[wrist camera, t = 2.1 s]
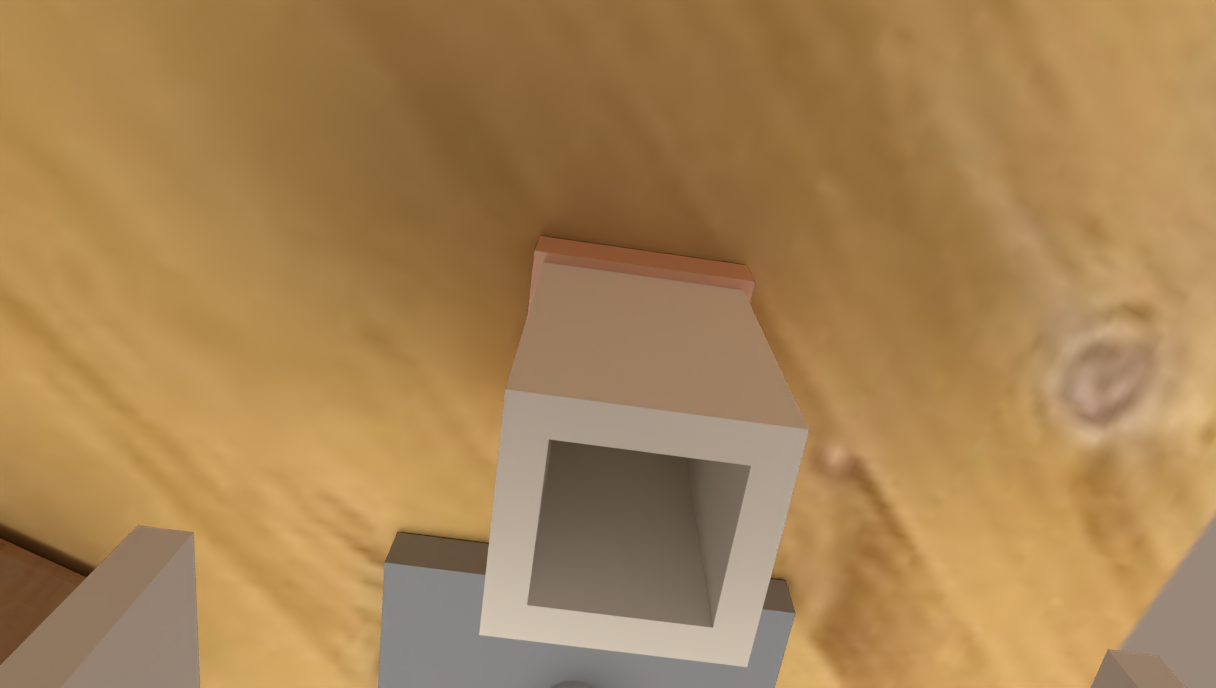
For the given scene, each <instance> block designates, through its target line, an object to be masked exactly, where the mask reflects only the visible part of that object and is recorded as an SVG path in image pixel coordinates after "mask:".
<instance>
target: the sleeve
mask: <svg viewBox="0 0 1216 688" xmlns="http://www.w3.org/2000/svg"><path fill="white" fill-rule="evenodd" d="M754 285H755V280H754V279H753V277H752V275H751V273H750V271H749V269H748V267H747V265H742V264H735V263H728V262H721V261H714V260H707V259H700V258H693V257H686V256H678V255H671V254H664V253H657V252H650V251H643V250H636V249H629V248H622V247H615V246H608V245H601V244H594V243H587V242H580V241H573V240H566V239H558V238H551V237H544V236H540V237H539V240H538V243H537V245H536V248H535V252H534V261H533V269H532V278H531V287H530V296H529V305H528V313H527V319H526V322H525V326H524V329H523V332H522V336H521V339H520V342H519V345H518V349H517V352H516V355H515V359H514V362H513V365H512V369H511V372H510V375H509V379H508V382H507V385H506V389H505V397H504V406H503V416H502V425H501V435H500V444H499V453H498V463H497V472H496V481H495V491H494V500H493V510H492V519H491V528H490V538H489V547H488V556H487V566H486V575H485V585H484V594H483V603H482V613H481V622H480V631H479V635H483V636H492V637H500V638H508V639H517V640H525V641H533V642H542V643H550V644H558V645H567V646H575V647H583V648H592V649H600V650H608V651H617V652H625V653H633V654H642V655H650V656H658V657H667V658H675V659H683V660H692V661H700V662H708V663H716V664H725V665H733V666H741V667H747V666H748V662H749V658H750V654H751V651H752V647H753V643H754V639H755V635H756V631H757V628H758V624H759V620H760V616H761V612H762V608H763V605H764V601H765V597H766V593H767V589H768V585H769V582H770V578H771V574H772V570H773V566H774V562H775V559H776V555H777V551H778V547H779V543H780V540H781V536H782V532H783V528H784V524H785V520H786V517H787V513H788V509H789V505H790V501H791V497H792V494H793V490H794V486H795V482H796V478H797V474H798V471H799V467H800V463H801V459H802V455H803V451H804V448H805V444H806V440H807V436H808V432H809V428H808V426H807V424H806V422H805V420H804V418H803V416H802V414H801V411H800V409H799V407H798V405H797V403H796V401H795V399H794V397H793V394H792V392H791V390H790V388H789V386H788V384H787V382H786V380H785V377H784V375H783V373H782V371H781V369H780V367H779V365H778V363H777V361H776V358H775V356H774V354H773V352H772V350H771V348H770V346H769V344H768V341H767V339H766V337H765V335H764V333H763V331H762V329H761V327H760V324H759V322H758V320H757V318H756V316H755V314H754V312H753V310H752V307H751V305H750V304H751V299H752V294H753V290H754Z"/></svg>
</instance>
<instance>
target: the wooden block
mask: <svg viewBox="0 0 1216 688" xmlns="http://www.w3.org/2000/svg"><path fill="white" fill-rule="evenodd" d="M86 578H87V577H85V576H82V575H80V574H78V573H76V572H74V571H71V570H69V569H67V568H65V567H63V566H60V565H58V564H56V563H54V562H52V561H49V560H47V559H45V558H43V557H41V556H38V555H36V554H34V553H32V552H30V551H27V550H25V549H23V548H21V547H19V546H16V545H14V544H12V543H10V542H8V541H5V540H3V539H1V538H0V665H1V664H2V663H3V662H4V661H5V660H6V659H7V658H8V657H9V656H10V655H11V654H12V653H13V652H14V651H15V650H16V649H17V648H18V647H19V646H20V645H21V644H22V643H23V642H24V641H25V640H26V639H27V638H28V637H29V636H30V635H31V634H32V633H33V632H34V631H35V630H36V628H37V627H38V626H39V625H40V624H41V623H42V622H43V621H44V620H45V619H46V618H47V617H48V616H49V615H50V614H51V613H52V612H53V611H54V610H55V609H56V608H57V607H58V606H59V605H60V604H61V603H62V602H63V601H64V600H65V599H66V598H67V597H68V596H69V595H70V594H71V593H72V592H73V591H74V590H75V589H76V588H77V587H78V586H79V585H80V584H81V583H82V582H83V581H84V580H85V579H86Z"/></svg>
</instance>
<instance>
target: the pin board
mask: <svg viewBox="0 0 1216 688" xmlns="http://www.w3.org/2000/svg"><path fill="white" fill-rule="evenodd" d="M488 547H489V544H488V543H480V542H472V541H464V540H456V539H448V538H440V537H432V536H424V535H416V534H408V533H400V532H397V535H396V537H395V539H394V542H393V544H392V546H391V549H390V551H389V553H388V556H387V558H386V560H385V565H384V584H383V603H382V623H381V642H380V661H379V681H378V688H775V685H776V681H777V677H778V674H779V670H780V667H781V663H782V660H783V656H784V652H785V649H786V645H787V642H788V638H789V635H790V631H791V627H792V624H793V620H794V617H795V610H794V607H793V603H792V600H791V597H790V594H789V590H788V587H787V584H786V581H784V580H776V579H770V582H769V585H768V589H767V593H766V597H765V601H764V605H763V608H762V612H761V616H760V620H759V624H758V628H757V631H756V635H755V639H754V643H753V647H752V651H751V654H750V658H749V662H748V666H747V667H741V666H733V665H725V664H716V663H708V662H700V661H692V660H683V659H675V658H667V657H658V656H650V655H642V654H633V653H625V652H617V651H608V650H600V649H592V648H583V647H575V646H567V645H558V644H550V643H542V642H533V641H525V640H517V639H508V638H500V637H492V636H483V635H479V631H480V622H481V613H482V603H483V594H484V585H485V575H486V566H487V556H488Z"/></svg>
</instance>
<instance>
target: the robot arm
mask: <svg viewBox="0 0 1216 688" xmlns="http://www.w3.org/2000/svg"><path fill="white" fill-rule="evenodd" d="M0 688H200V675H199V650H198V626H197V601H196V577H195V552H194V532H186V531H178V530H170V529H162V528H154V527H147V526H139V525H138V526H137V527H136V528H135V529H134V530H133V531H132V532H131V533H130V534H129V535H128V536H127V537H126V538H125V539H124V540H123V541H122V542H121V543H120V544H119V545H118V546H117V547H116V548H115V549H114V550H113V551H112V552H111V553H110V554H109V555H108V556H107V557H106V558H105V559H104V560H103V561H102V562H101V563H100V564H99V565H98V566H97V567H96V569H95V570H94V571H93V572H92V573H91V574H90V575H89V576H88V577H87V578H86V579H85V580H84V581H83V582H82V583H81V584H80V585H79V586H78V587H77V588H76V589H75V590H74V591H73V592H72V593H71V594H70V595H69V596H68V597H67V598H66V599H65V600H64V601H63V602H62V603H61V604H60V605H59V606H58V607H57V608H56V609H55V610H54V611H53V612H52V613H51V614H50V615H49V616H48V617H47V618H46V619H45V620H44V621H43V622H42V623H41V624H40V625H39V626H38V627H37V628H36V630H35V631H34V632H33V633H32V634H31V635H30V636H29V637H28V638H27V639H26V640H25V641H24V642H23V643H22V644H21V645H20V646H19V647H18V648H17V649H16V650H15V651H14V652H13V653H12V654H11V655H10V656H9V657H8V658H7V659H6V660H5V661H4V662H3V663H2V664H1V665H0ZM1091 688H1187V687H1186V686H1185V685H1184V684H1183V683H1182V682H1181V681H1180V679H1179V678H1178V677H1177V676H1176V675H1175V674H1174V673H1173V671H1172V670H1171V669H1170V668H1169V667H1168V666H1167V665H1166V663H1165V662H1164V661H1163V660H1162V659H1161V658H1160V656H1157V655H1149V654H1141V653H1133V652H1125V651H1118V650H1110V649H1108V650H1107V652H1106V655H1105V657H1104V659H1103V661H1102V664H1101V666H1100V668H1099V670H1098V673H1097V675H1096V677H1095V679H1094V682H1093V684H1092V686H1091Z"/></svg>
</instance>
